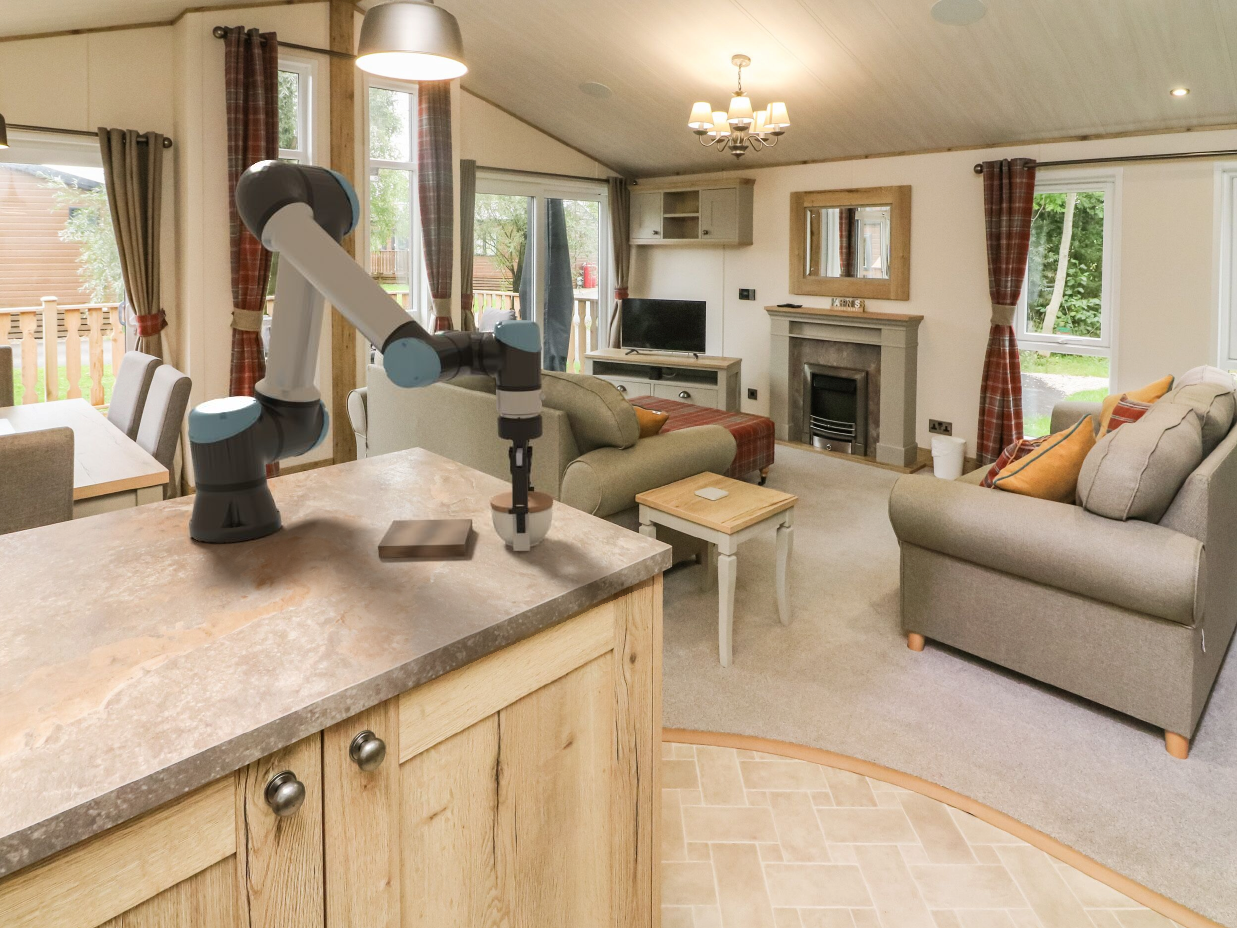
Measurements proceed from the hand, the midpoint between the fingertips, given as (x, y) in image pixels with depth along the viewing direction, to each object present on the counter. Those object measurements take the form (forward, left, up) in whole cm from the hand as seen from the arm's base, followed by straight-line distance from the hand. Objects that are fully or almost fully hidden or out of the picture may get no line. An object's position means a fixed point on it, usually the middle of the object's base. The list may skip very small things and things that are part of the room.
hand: (522, 539), depth 145 cm
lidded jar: (0, 0, -1) cm, 1 cm away
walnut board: (-15, -6, 0) cm, 16 cm away
